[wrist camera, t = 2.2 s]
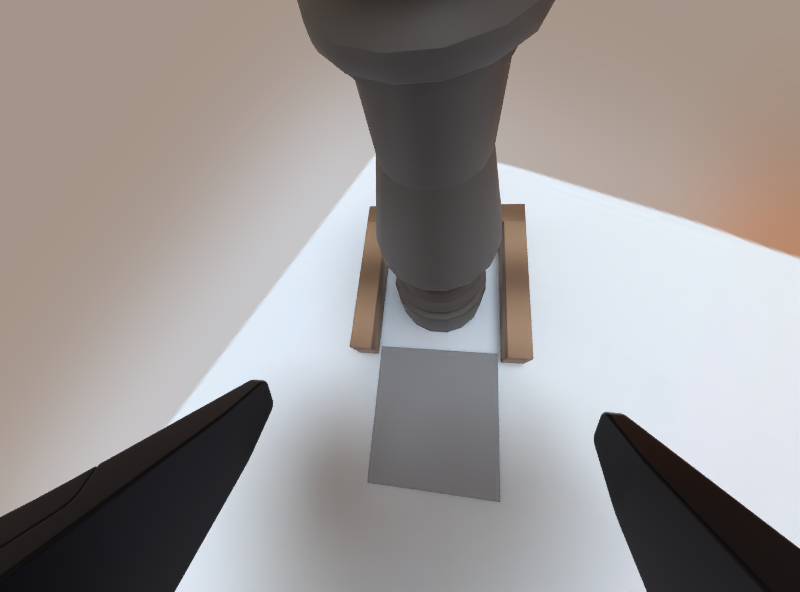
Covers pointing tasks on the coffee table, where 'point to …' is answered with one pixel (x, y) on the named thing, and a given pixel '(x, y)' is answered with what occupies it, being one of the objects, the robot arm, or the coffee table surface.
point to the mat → (437, 422)
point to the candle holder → (431, 133)
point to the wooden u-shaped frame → (510, 278)
